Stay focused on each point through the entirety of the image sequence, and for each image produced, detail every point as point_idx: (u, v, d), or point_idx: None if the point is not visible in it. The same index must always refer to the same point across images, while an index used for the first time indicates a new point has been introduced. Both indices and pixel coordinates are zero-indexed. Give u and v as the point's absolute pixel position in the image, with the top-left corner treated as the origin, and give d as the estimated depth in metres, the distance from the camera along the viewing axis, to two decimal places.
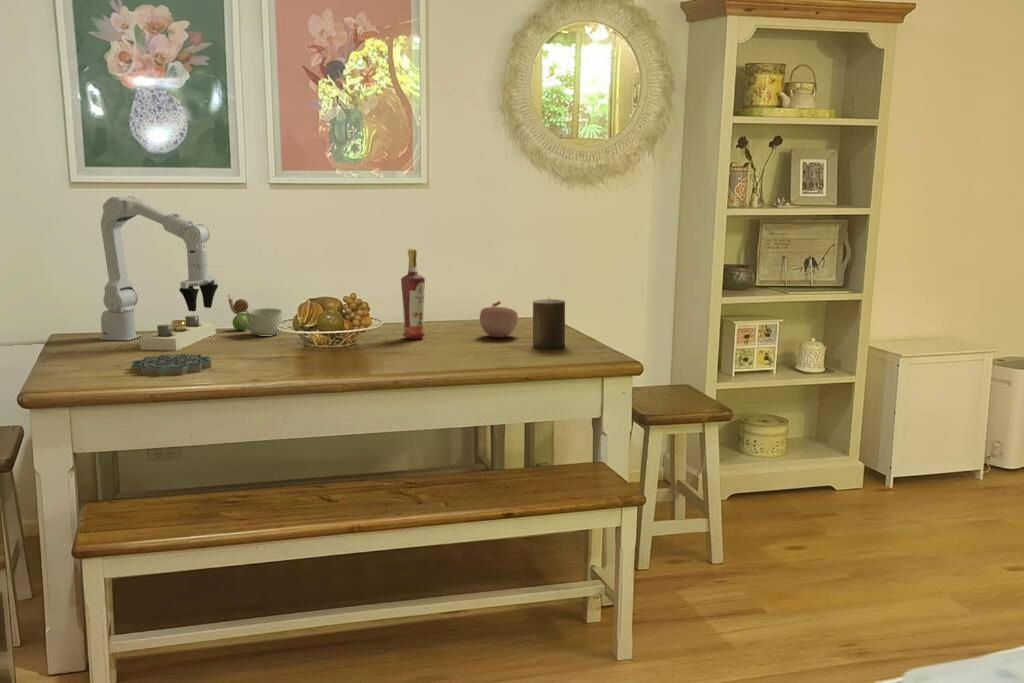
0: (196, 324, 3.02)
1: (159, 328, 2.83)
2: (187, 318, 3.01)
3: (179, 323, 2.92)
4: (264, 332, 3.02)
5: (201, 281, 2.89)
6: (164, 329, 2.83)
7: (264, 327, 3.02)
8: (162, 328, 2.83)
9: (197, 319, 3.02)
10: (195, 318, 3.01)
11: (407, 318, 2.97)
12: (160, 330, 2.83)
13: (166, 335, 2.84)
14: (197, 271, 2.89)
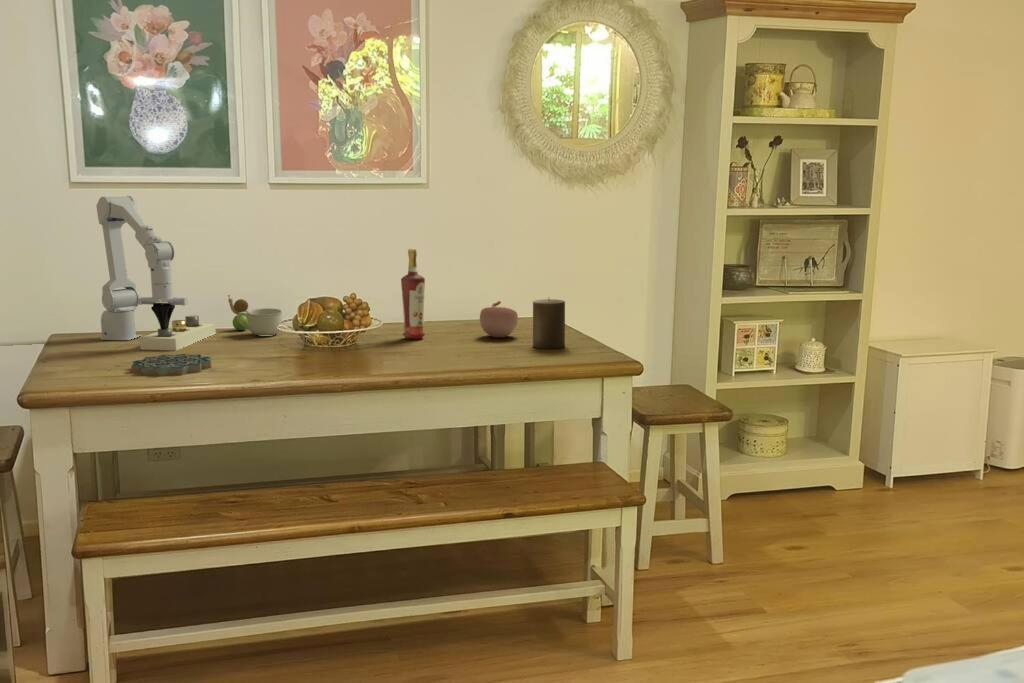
0: (196, 324, 3.02)
1: (159, 331, 2.84)
2: (187, 318, 3.01)
3: (179, 323, 2.92)
4: (264, 332, 3.02)
5: (152, 300, 2.81)
6: (164, 332, 2.84)
7: (264, 327, 3.02)
8: (162, 331, 2.83)
9: (197, 319, 3.02)
10: (195, 318, 3.01)
11: (407, 318, 2.97)
12: (161, 334, 2.84)
13: None
14: None
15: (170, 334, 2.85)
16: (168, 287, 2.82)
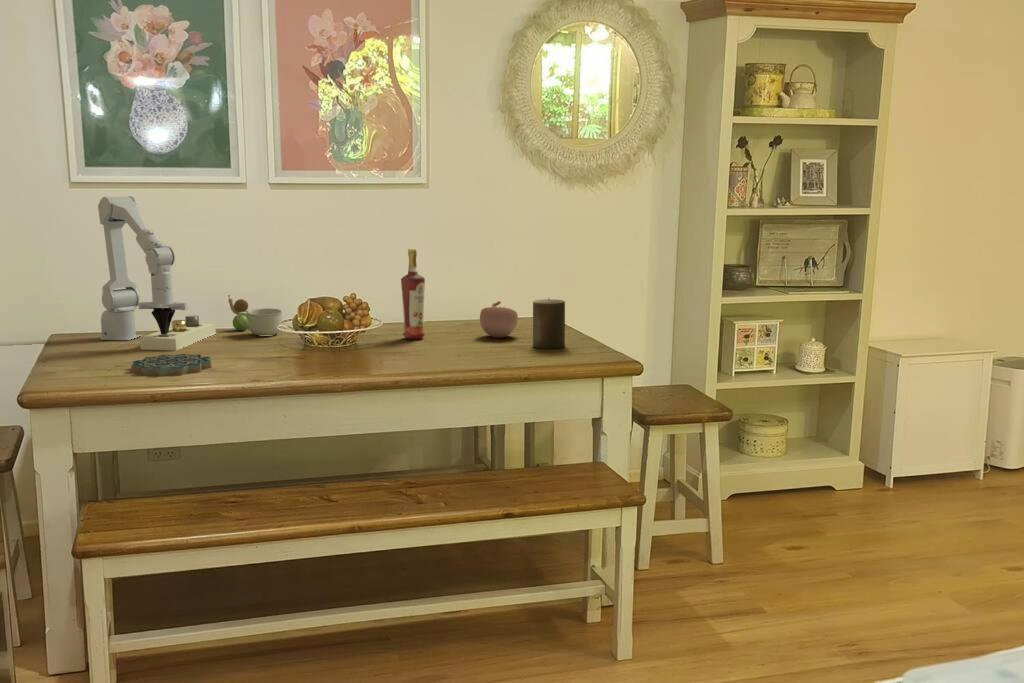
0: (196, 324, 3.02)
1: None
2: (187, 318, 3.01)
3: (179, 323, 2.92)
4: (264, 332, 3.02)
5: (152, 305, 2.82)
6: None
7: (264, 327, 3.02)
8: None
9: (197, 319, 3.02)
10: (195, 318, 3.01)
11: (407, 318, 2.97)
12: None
13: None
14: (152, 294, 2.82)
15: None
16: (168, 292, 2.82)
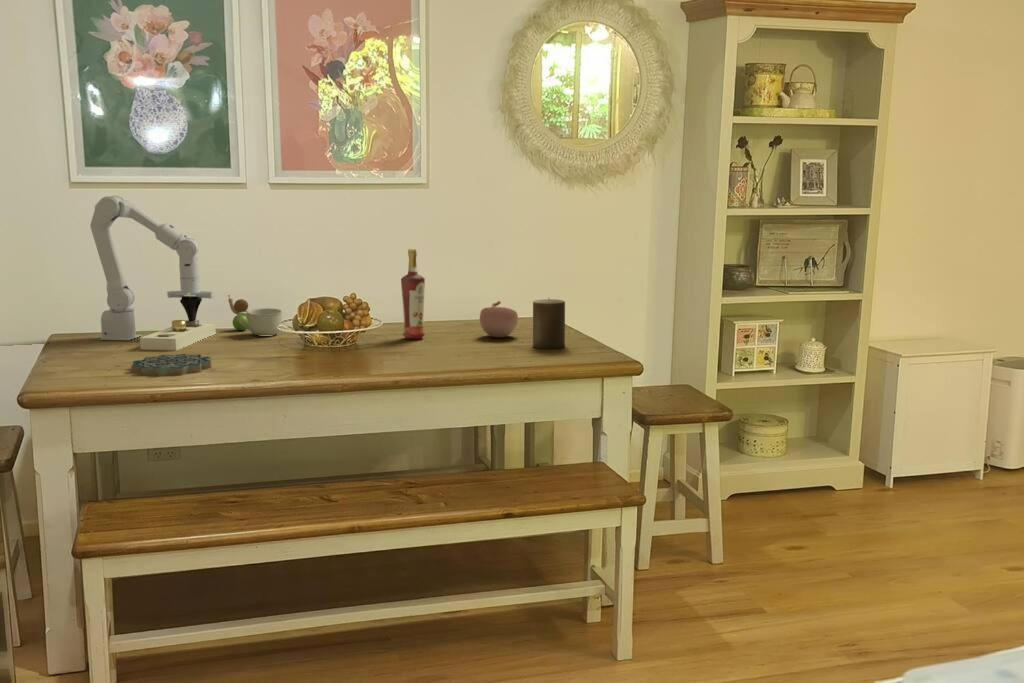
0: None
1: None
2: (187, 322, 3.01)
3: (179, 323, 2.92)
4: (264, 332, 3.02)
5: (180, 293, 2.99)
6: None
7: (264, 327, 3.02)
8: None
9: (197, 323, 3.03)
10: (195, 322, 3.02)
11: (407, 318, 2.97)
12: None
13: None
14: (180, 283, 2.99)
15: None
16: (196, 281, 2.99)
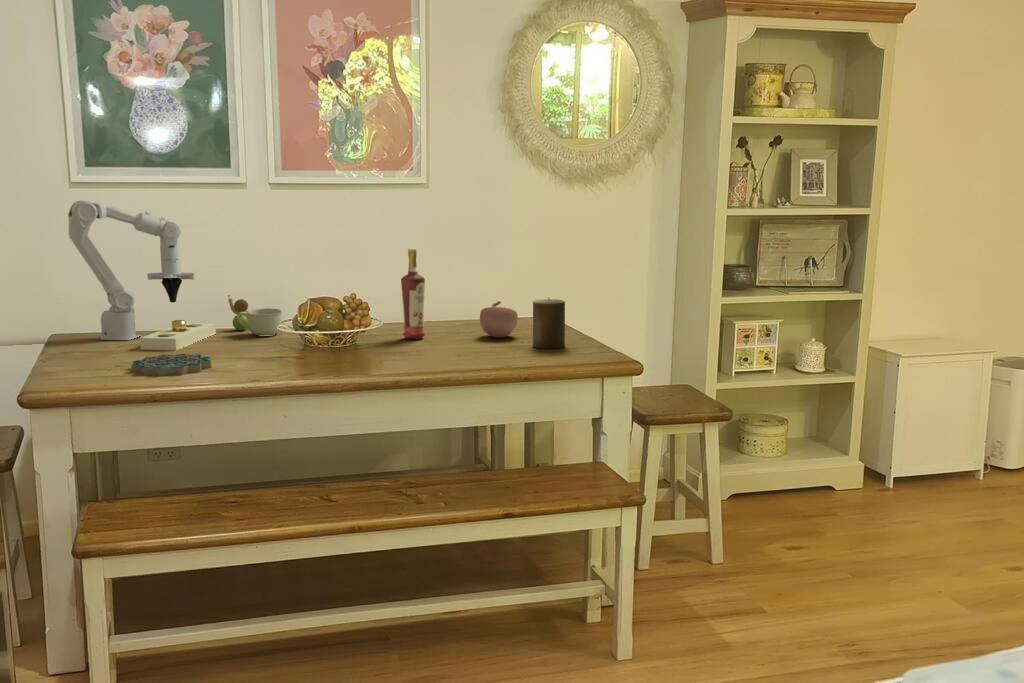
0: None
1: None
2: None
3: (179, 323, 2.92)
4: (264, 332, 3.02)
5: (162, 275, 3.03)
6: None
7: (264, 327, 3.02)
8: None
9: None
10: None
11: (407, 318, 2.97)
12: None
13: None
14: (161, 265, 3.03)
15: None
16: (177, 263, 3.04)
